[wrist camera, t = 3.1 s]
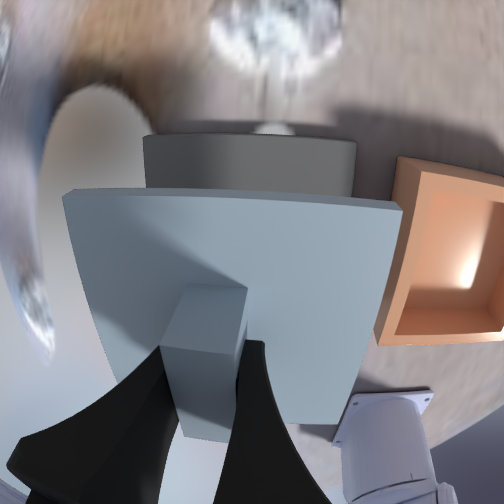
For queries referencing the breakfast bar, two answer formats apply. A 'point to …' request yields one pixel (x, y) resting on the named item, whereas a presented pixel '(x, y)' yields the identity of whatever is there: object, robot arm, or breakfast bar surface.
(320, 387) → the lid
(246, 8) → the breakfast bar surface
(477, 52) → the breakfast bar surface
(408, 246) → the square open tray
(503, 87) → the breakfast bar surface
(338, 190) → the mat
